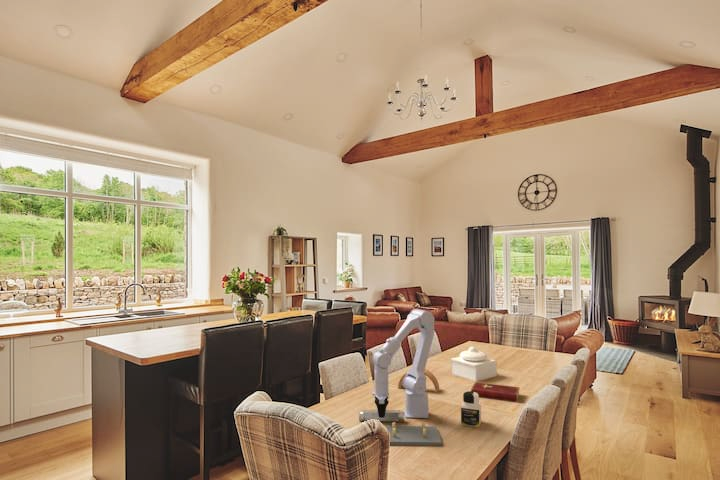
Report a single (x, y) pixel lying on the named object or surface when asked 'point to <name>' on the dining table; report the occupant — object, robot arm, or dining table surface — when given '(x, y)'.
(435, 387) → the arch
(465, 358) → the butter dish
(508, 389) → the hardcover book
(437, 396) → the dining table surface
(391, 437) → the tool rest
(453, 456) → the dining table surface
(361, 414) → the spanner bar
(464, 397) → the medicine bottle
